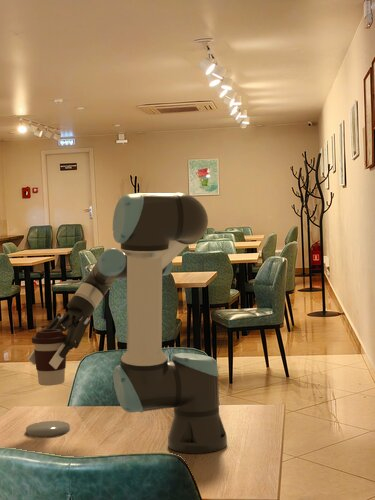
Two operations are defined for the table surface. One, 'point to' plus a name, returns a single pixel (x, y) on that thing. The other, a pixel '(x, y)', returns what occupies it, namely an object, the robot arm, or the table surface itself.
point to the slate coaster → (47, 429)
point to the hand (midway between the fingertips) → (41, 364)
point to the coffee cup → (49, 356)
